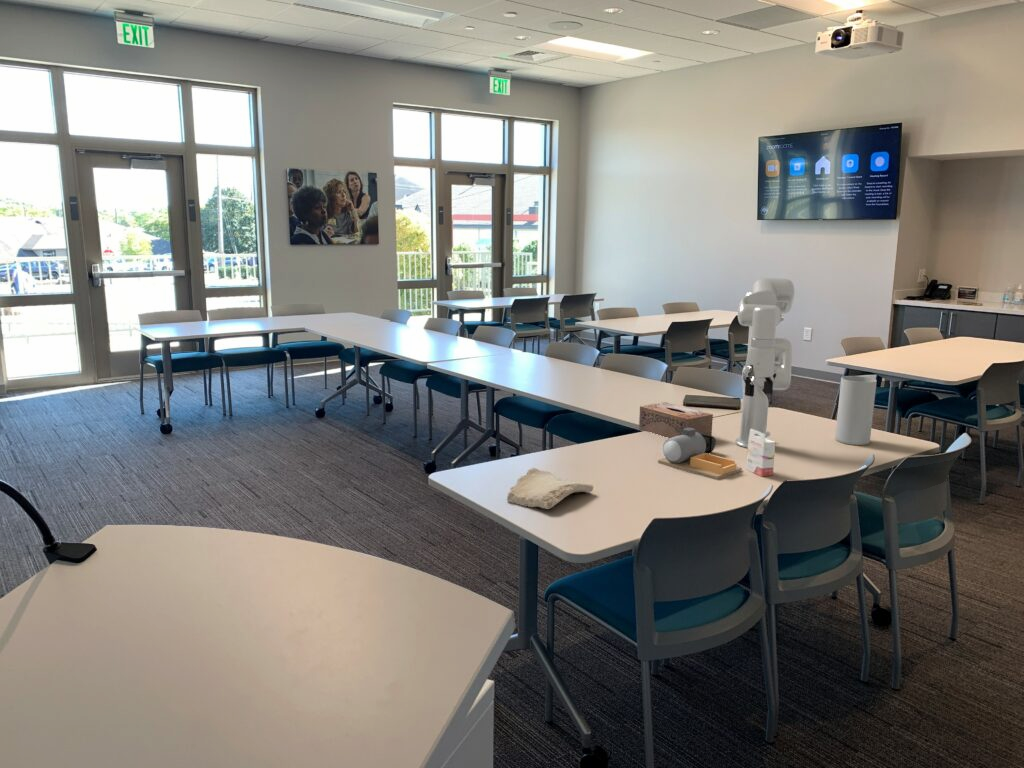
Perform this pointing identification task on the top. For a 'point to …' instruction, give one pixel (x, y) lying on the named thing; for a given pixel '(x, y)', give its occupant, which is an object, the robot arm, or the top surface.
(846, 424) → the cylinder vase
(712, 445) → the end cap
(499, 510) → the top surface
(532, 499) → the beige pottery fragment
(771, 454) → the ink cartridge box
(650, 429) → the tissue box cover
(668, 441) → the motor mount
